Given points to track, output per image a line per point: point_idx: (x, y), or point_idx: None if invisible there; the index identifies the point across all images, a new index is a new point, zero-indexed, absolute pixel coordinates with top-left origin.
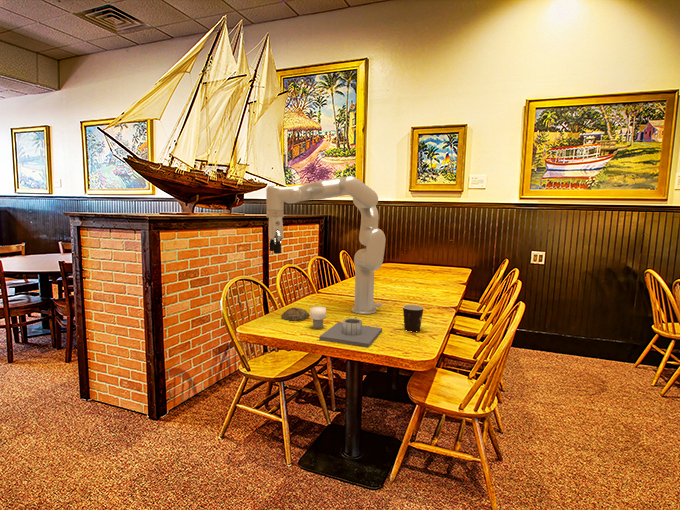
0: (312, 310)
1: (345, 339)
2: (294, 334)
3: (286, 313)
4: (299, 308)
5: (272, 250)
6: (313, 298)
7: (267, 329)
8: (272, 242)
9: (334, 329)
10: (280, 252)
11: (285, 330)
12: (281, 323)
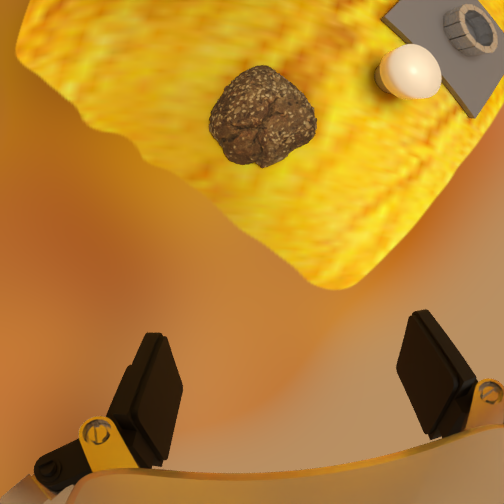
0: (429, 96)
1: (498, 76)
2: (423, 161)
3: (270, 150)
4: (253, 96)
5: (176, 372)
6: (38, 46)
7: (362, 224)
8: (147, 449)
9: (442, 58)
10: (428, 318)
11: (387, 176)
12: (319, 174)
